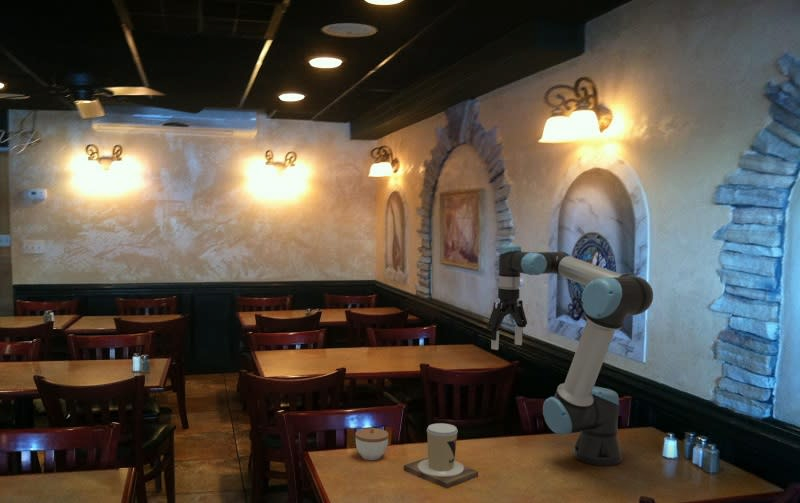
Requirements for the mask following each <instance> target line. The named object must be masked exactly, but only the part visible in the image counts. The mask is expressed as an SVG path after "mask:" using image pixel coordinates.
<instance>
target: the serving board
mask: <svg viewBox="0 0 800 503" xmlns="http://www.w3.org/2000/svg"><path fill="white" fill-rule="evenodd" d="M403 471H404V472H407V473H409V474H412V475H414V476H417V477H419V478H422V479H423V480H426V481H428V482H431V483H433V484H436V485H438V486H440V487H443V488H445V489H449V488H452V487H455V486H456V485H459V484H462V483H465V482H467V481H469V480H472V479H475V478H477V477H479V471H478V470H475V469H473V468H471V467H468V466H465V465H464V464H462V463H461V462H459V461H456V460H454V467H453V469H451V470H448V471H437V470H433V469H431V468H430V467H429V464H428V457H425V458H423V459H422V458H421V459H419V460H416V461H413V462H410V463H406V464H404V465H403Z"/></svg>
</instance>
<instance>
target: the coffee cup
mask: <svg viewBox="0 0 800 503" xmlns="http://www.w3.org/2000/svg"><path fill="white" fill-rule="evenodd" d="M458 431H459V430H458V428H457V426H455V425H453V424H450V423H442V422H441V423H432V424H429V425H428V426H427V429H426V434H427V435H426V436H427V458H428V464H429V467H430V468H431V469H433V470H437V471H448V470H451V469H453V467H454V461H456V459H455V458H456V450H457V449H456V448H457V439H458V438H457V437H458Z"/></svg>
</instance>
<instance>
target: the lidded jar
mask: <svg viewBox="0 0 800 503" xmlns="http://www.w3.org/2000/svg"><path fill="white" fill-rule="evenodd" d="M389 435H390V434H389V432H388V431H387V430H385V429H382V428H376V427H375V428H374V427H368V428H360V429H359V430H356V432H355V447H356V450H357V452H358V454H359V455H360V456H361V457H362V459H364V460H367V461H376V460H379V459H381V457H382V456H383V455H385V453H386V451H387V449H388V443H389Z"/></svg>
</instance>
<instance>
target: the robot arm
mask: <svg viewBox="0 0 800 503" xmlns="http://www.w3.org/2000/svg"><path fill="white" fill-rule="evenodd" d="M498 258H499V259H498V287H499V288H498V289H497V298H498V299H499V302H493V308H492V311H491V314H490V317H489V319H488V322H487V326H486V329H487V330H489V331H490V341H491V343H490V344H491V345H490V349H491V350H495V351H499V348H500V347H499V342H500V331H499V328H500V327H501V325H502V323H503V321H504V318H505V317H507V316H508V315H511V317H512V320H513V321H514V322H515V324H516V326H515V327H514V345H517V346H522V345H523V334H524V328H526V327H527V325H528V321H527V316H526V313H525V309H524V306H523V305H524V304H523V303H524V302H523V300H520V289H519V288H520V287H521V274H525V275H529V276H540V275H541V274H542V275H543V274H549V275H550V274H553V275H557V276H560V277H563V278H565V279H568V280H571V281H573V282H576V283H578V284H581V285H582V286H585V287H584V289H583V291H582V295H581V302H582V304H581V305H582V309H583V311H584V317H585V319H586V323H585V325H584V329H583V331H582V334H581V336H580V339H579V342H578V344H577V348H576V350H575V353H574V356H573V358H572V360H571V364H570V367H569V370H568V372H567V375H566V378H565V381H564V383H560V384H559V385H558V386H557V389H556V391H555V395H554V396H550V397H548V398H546V399H545V400H544V402H543V404H542V405H543V406H542V415H543V418H544V421H545V423H546V425H547V427H548V428H549V429H550V430H551V431H552V432H553V433H555V434H558V435H569V434H573V433H578V432H580V433H579V435H578V438H577V440H576V443H575V445H574V448H573V456H574V457H575V458H576V460H578V461H580V462H583V463H587V464H590V465H595V466H607V467H608V466H616V465H618V464H620V463H621V462H622V458H623V455H622V454H623V453H622V450H621V446H620V443H619V439H618V425H619V423H618V422H619V410H620V409H619V407H620V403H619V402H620V401H619V400H620V399H619V394H618V393H617V392H616V391H614V390H613V389H609V388H604V387H601V386H596V381H597V379H598V376H599V374H600V372H601V369H602V365H603V363H604V360H605V358H606V355H607V352H608V350H609V348H610V345H611V342H612V340H613V337H614V334H615V332H616V331H618V330H621V329H622V328H623V325H624V323H625V321H626V318H627V316H629V317H630V316H638V315H641V314H643V313H645V312H647V310H648V309H649V308H650V307H651V305H652V303H653V301H654V292H653V288H652V286H651V284H650V283H649V282H648V281H647V280H646V279H644V278H643V277H641V276H636V275H634V274H630V273H627V272H625V273H624V272H623V273H622V274H621V273H618V272H616V271H613V270H610V269H608V268H607V269H606V268H604V267H602V266H598V265H596V264H593V263H591V262H587V261H584V260H582V259H578V258H576V257H574V256H573V255H572V254H571V253H570V252H568V251H533V252H532V251H530V252H529V251H522V246H521V245H520V244H501V245H500V247H499V254H498Z"/></svg>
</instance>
